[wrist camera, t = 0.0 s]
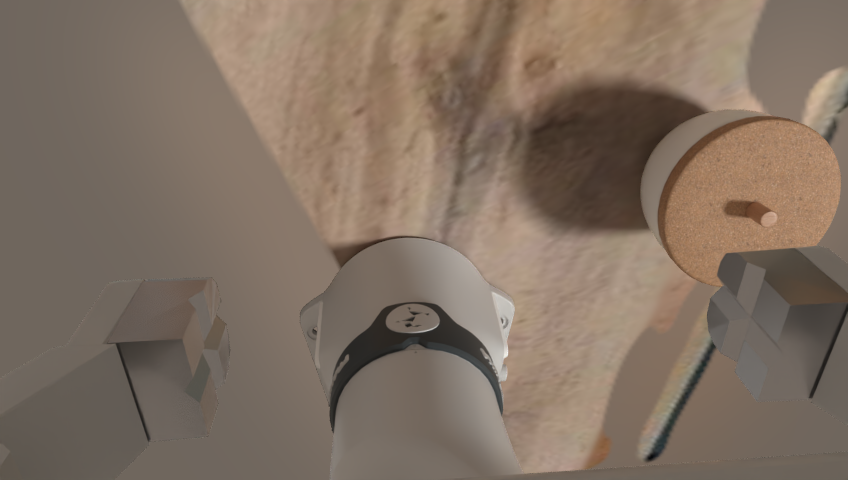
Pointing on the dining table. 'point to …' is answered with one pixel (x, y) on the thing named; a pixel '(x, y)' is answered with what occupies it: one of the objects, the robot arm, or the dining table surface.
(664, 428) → the dining table surface
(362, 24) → the dining table surface
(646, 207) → the lidded bowl
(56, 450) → the robot arm
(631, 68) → the dining table surface
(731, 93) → the dining table surface
